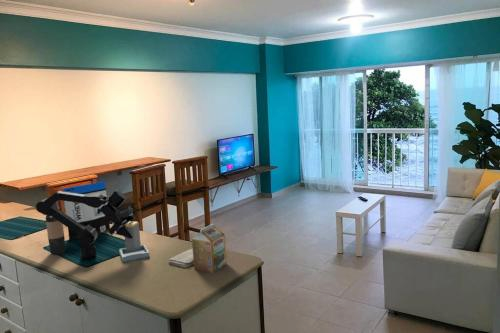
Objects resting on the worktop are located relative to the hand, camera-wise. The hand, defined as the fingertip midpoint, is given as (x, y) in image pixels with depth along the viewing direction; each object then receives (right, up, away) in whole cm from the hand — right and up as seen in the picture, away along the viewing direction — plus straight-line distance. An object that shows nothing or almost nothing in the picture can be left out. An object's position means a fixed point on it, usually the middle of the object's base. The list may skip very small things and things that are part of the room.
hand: (134, 235), depth 204 cm
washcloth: (+28, -11, -6) cm, 31 cm away
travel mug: (-43, -11, +12) cm, 46 cm away
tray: (-1, -10, +2) cm, 10 cm away
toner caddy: (-1, -7, +1) cm, 7 cm away
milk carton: (+39, -11, -16) cm, 44 cm away
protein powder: (-37, -6, +40) cm, 55 cm away
